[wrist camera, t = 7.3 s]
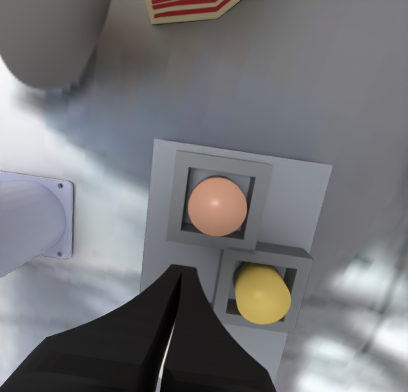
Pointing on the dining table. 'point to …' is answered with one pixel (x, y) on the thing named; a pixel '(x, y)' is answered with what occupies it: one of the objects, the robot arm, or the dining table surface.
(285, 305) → the button mustard
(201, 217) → the button terracotta
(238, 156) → the panel
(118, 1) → the dining table surface
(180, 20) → the milk carton
